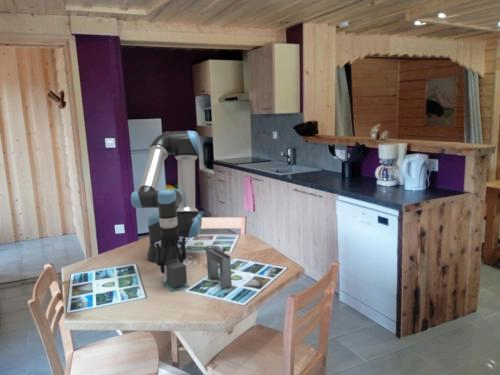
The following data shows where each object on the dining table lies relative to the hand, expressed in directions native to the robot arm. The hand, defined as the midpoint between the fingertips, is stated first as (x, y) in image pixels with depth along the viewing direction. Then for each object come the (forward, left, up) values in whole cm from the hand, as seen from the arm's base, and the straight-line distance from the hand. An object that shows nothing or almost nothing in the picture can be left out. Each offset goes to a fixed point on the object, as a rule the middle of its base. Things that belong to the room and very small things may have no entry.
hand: (172, 277), depth 180 cm
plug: (+3, 0, -1) cm, 3 cm away
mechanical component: (-4, +24, -3) cm, 25 cm away
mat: (+3, 0, -3) cm, 4 cm away
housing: (+12, +17, -3) cm, 21 cm away
